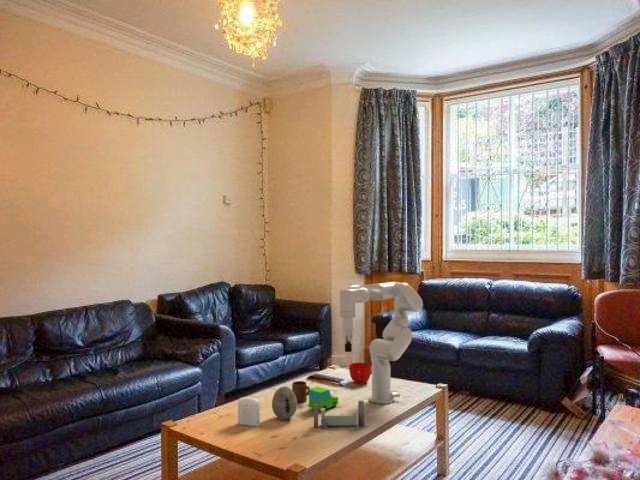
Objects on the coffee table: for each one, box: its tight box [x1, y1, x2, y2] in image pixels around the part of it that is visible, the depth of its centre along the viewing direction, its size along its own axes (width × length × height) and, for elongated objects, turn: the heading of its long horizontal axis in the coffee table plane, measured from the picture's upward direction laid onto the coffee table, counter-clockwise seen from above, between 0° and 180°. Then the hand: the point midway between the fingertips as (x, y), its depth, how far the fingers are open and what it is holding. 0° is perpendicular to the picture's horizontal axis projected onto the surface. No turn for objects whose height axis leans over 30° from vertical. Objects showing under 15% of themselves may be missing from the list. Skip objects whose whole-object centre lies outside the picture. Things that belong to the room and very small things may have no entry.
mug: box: [291, 380, 311, 404], centre depth 257 cm, size 12×8×9 cm, turn 44°
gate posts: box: [312, 400, 366, 430], centre depth 223 cm, size 23×4×11 cm, turn 91°
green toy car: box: [308, 386, 339, 412], centre depth 248 cm, size 10×13×10 cm
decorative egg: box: [271, 386, 298, 420], centre depth 234 cm, size 12×12×15 cm
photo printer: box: [237, 396, 261, 427], centre depth 227 cm, size 10×4×12 cm, turn 72°
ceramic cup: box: [348, 362, 372, 385], centre depth 288 cm, size 13×17×10 cm
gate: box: [320, 408, 357, 425], centre depth 224 cm, size 16×2×7 cm, turn 90°
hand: (348, 351), depth 243 cm, fingers closed
